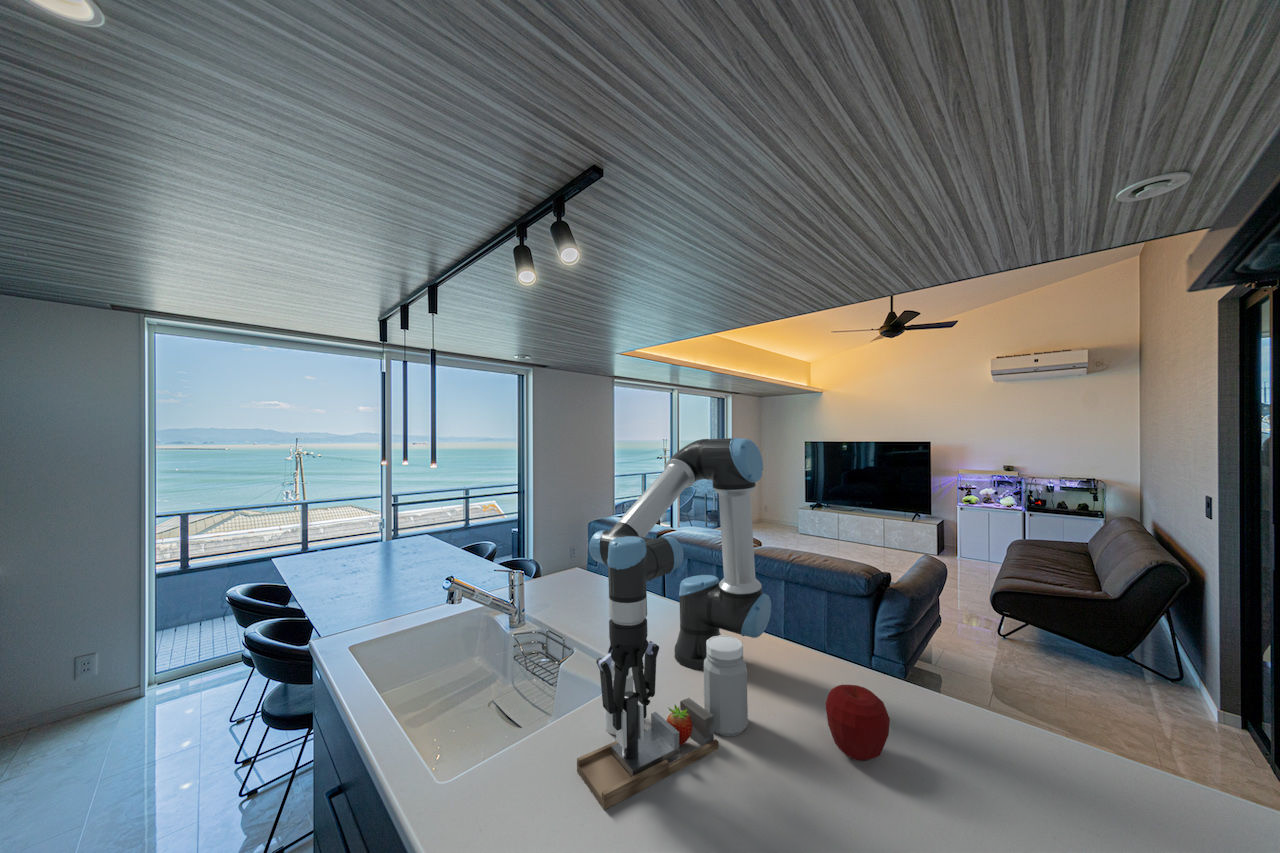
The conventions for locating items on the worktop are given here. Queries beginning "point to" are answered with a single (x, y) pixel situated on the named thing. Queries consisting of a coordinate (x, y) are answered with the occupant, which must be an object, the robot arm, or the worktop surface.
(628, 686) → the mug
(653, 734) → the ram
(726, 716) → the jar
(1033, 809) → the worktop surface
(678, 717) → the fruit
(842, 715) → the apple
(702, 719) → the base
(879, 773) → the worktop surface
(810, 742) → the worktop surface
